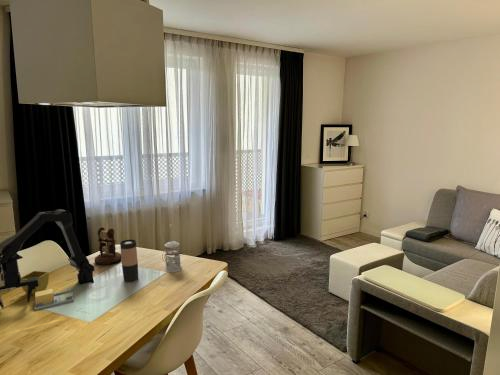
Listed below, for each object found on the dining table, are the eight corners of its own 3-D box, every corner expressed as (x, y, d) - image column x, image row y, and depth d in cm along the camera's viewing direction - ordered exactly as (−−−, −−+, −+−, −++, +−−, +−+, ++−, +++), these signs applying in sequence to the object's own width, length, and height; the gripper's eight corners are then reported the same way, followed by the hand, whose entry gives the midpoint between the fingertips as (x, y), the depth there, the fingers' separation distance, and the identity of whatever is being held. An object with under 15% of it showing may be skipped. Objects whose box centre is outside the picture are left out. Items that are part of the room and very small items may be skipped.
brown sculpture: (127, 258, 206) (124, 225, 202) (109, 267, 192) (106, 233, 189) (107, 255, 211) (104, 223, 207) (88, 264, 197) (85, 230, 194)
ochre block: (54, 296, 159) (53, 288, 159) (54, 301, 155) (53, 292, 154) (36, 300, 156) (35, 292, 155) (36, 305, 152) (35, 296, 151)
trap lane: (72, 292, 164) (72, 289, 164) (74, 302, 155) (73, 299, 154) (35, 300, 157) (34, 297, 156) (34, 312, 147) (34, 309, 147)
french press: (186, 267, 191) (184, 223, 187) (171, 274, 182) (168, 229, 177) (173, 263, 197) (170, 221, 192) (157, 270, 187) (154, 226, 182)
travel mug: (119, 281, 175) (116, 243, 172) (130, 275, 182) (127, 238, 179) (131, 283, 172) (128, 245, 169) (142, 277, 179) (139, 240, 176)
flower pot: (37, 298, 159) (34, 279, 158) (20, 296, 161) (18, 278, 159) (51, 289, 168) (49, 271, 166) (36, 287, 169) (33, 270, 168)
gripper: (36, 260, 158) (41, 291, 161) (-14, 269, 149) (-9, 302, 152) (36, 268, 149) (40, 301, 152) (-18, 279, 140) (-12, 314, 143)
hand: (15, 304), depth 150 cm, fingers open, 9 cm apart
